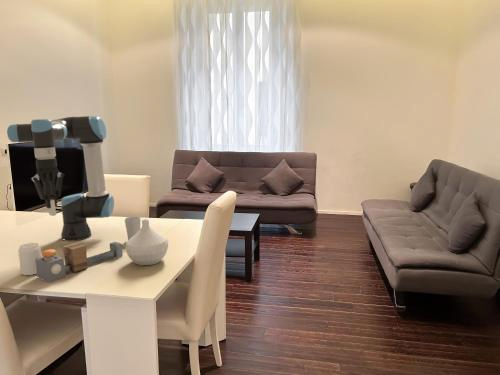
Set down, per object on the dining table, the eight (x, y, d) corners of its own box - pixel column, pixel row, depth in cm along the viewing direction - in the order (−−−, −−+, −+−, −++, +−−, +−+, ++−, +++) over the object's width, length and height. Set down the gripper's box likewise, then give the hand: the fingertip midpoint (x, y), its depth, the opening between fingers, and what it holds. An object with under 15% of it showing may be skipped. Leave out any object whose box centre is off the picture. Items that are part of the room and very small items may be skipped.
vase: (147, 272, 171) (144, 227, 167) (117, 264, 180) (114, 222, 177) (177, 258, 186) (175, 217, 183) (148, 252, 196) (145, 213, 192)
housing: (37, 277, 168) (35, 259, 166) (54, 272, 173) (52, 254, 172) (49, 282, 162) (46, 263, 161) (66, 277, 168) (64, 258, 166)
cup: (137, 243, 211) (136, 220, 209) (123, 242, 213) (121, 220, 211) (144, 238, 219) (143, 216, 217) (130, 238, 220) (129, 216, 218)
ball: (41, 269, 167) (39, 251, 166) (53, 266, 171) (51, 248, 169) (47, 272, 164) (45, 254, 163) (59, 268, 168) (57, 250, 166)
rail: (56, 273, 172) (55, 259, 171) (116, 254, 195) (115, 241, 194) (63, 275, 169) (61, 261, 168) (122, 255, 192) (121, 243, 191)
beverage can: (26, 269, 177) (23, 243, 175) (46, 268, 178) (43, 242, 176) (17, 277, 169) (14, 249, 167) (38, 276, 170) (34, 248, 168)
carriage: (65, 268, 176) (63, 246, 175) (78, 264, 181) (76, 242, 179) (74, 272, 172) (72, 249, 170) (87, 267, 177) (85, 245, 175)
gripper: (33, 160, 158) (41, 220, 162) (66, 156, 168) (72, 212, 173) (24, 159, 162) (32, 217, 167) (56, 155, 173) (63, 210, 177)
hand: (52, 215), depth 170 cm, fingers closed
